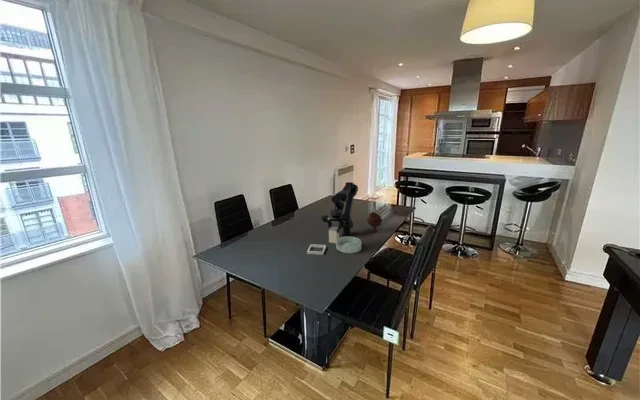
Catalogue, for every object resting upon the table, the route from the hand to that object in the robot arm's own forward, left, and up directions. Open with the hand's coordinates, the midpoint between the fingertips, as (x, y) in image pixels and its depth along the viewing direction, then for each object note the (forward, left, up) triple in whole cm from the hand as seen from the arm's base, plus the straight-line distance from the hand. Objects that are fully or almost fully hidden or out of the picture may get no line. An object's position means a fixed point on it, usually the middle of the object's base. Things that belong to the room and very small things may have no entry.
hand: (333, 232), depth 163 cm
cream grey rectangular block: (-1, 0, -7) cm, 7 cm away
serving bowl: (-7, +9, -13) cm, 17 cm away
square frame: (0, -11, -13) cm, 17 cm away
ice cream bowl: (-36, +26, -13) cm, 46 cm away
